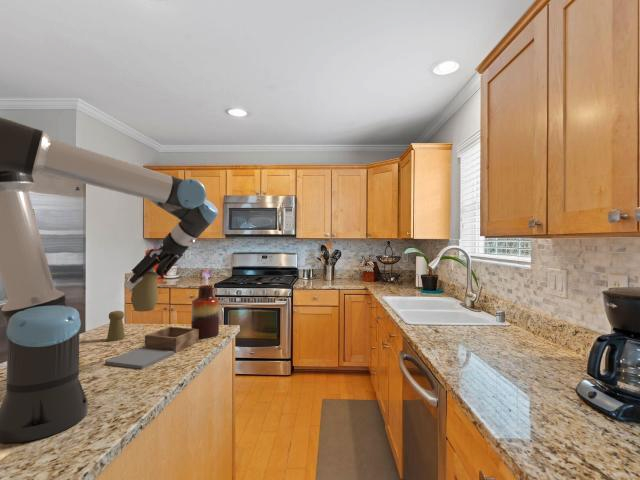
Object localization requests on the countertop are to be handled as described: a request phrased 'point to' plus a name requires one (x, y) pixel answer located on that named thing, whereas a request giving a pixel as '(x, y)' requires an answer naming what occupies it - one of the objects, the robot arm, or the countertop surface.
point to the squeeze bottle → (145, 292)
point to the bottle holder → (172, 339)
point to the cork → (116, 326)
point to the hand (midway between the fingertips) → (136, 287)
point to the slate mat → (139, 358)
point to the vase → (205, 313)
